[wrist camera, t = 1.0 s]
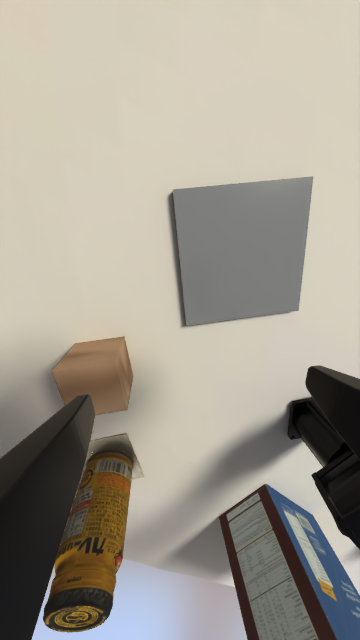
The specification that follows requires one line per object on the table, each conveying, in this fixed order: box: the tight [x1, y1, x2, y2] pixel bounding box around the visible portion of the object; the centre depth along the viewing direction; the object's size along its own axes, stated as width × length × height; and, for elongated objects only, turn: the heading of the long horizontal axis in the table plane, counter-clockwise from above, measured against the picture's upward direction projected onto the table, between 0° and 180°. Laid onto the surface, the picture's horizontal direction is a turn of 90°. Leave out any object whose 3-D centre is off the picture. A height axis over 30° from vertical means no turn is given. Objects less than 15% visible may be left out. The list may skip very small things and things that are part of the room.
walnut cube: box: [52, 337, 133, 415], centre depth 19 cm, size 5×5×5 cm
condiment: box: [43, 434, 144, 632], centre depth 21 cm, size 7×8×12 cm
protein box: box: [219, 484, 360, 640], centre depth 28 cm, size 10×15×16 cm
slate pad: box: [172, 177, 313, 326], centre depth 19 cm, size 12×12×1 cm
